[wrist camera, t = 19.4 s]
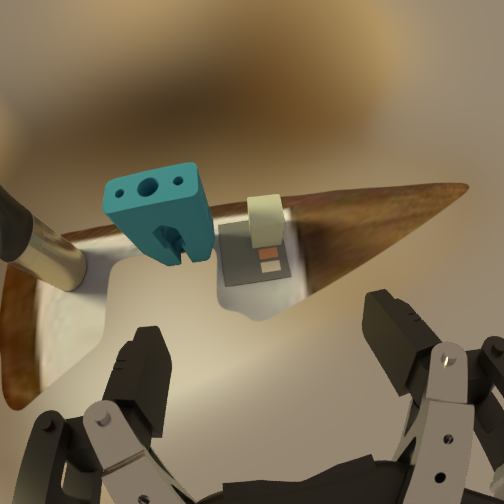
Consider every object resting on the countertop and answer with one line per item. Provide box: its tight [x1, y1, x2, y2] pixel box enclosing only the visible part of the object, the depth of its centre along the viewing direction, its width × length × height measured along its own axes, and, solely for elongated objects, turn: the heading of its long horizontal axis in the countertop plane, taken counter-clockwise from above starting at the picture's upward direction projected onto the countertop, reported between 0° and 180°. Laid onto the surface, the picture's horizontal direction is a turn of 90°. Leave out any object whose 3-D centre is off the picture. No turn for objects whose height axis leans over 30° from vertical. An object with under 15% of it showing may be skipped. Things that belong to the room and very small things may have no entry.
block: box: [103, 162, 215, 266], centre depth 40 cm, size 12×5×20 cm, turn 99°
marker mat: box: [218, 220, 291, 287], centre depth 48 cm, size 11×12×1 cm
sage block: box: [247, 194, 285, 248], centre depth 45 cm, size 5×5×8 cm
